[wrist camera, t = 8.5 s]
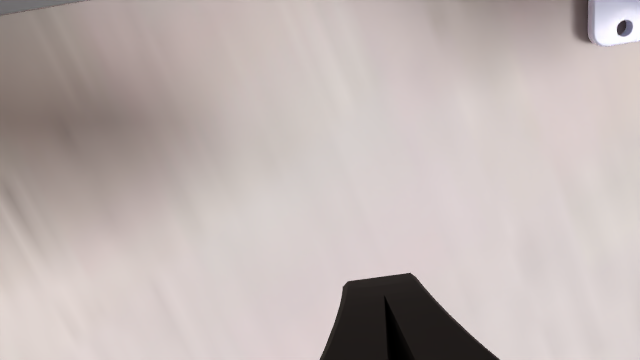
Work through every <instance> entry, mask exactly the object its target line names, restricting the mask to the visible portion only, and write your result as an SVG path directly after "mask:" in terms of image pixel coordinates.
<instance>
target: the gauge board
mask: <svg viewBox="0 0 640 360" xmlns="http://www.w3.org/2000/svg"><path fill="white" fill-rule="evenodd" d="M82 1H88V0H0V16H1V15H7V14H12V13H18V12H24V11H30V10H36V9H42V8H47V7H53V6H59V5H65V4H71V3H76V2H82Z"/></svg>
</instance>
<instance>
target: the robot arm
mask: <svg viewBox="0 0 640 360" xmlns="http://www.w3.org/2000/svg"><path fill="white" fill-rule="evenodd" d="M623 20H624V21H626V29H625V31H624V32H623V33H622V34H620V35H618V34H617V31H616V28H617V25H618V24H619V23H620V22H621V21H623ZM588 36H589V39H590V40H591V42H592V43H594V44H596V45H599V46H613V45H620V44H626V43H632V42H638V41H640V0H588ZM320 360H500V359H499V358H497V357H496V356H495V355H494V354H492V353H491V352H490V351H489V350H488V349H486V348H485V347H484V346H483V345H482V344H481V343H479V342H478V341H477V340H476V339H475V338H474V337H473V336H472V335H470V334H469V333H468V332H467V331H466V330H465V329H464V328H463V327H462V326H461V325H460V324H459V323H458V322H457V321H456V320H455V319H454V318H452V317H451V316H450V315H449V314H448V313H447V312H446V311H445V309H444V308H443V307H442V306H441V305H440V304H439V303H438V302H437V301H436V300H435V299H434V298H433V297H432V296H431V295H430V293H429V292H428V291H427V290H426V289H425V288H424V286H423V285H422V284H421V283H420V282H419V280H418V279H417V278H416V277H415V276H414V275H412V274H411V273H406V274H399V275H392V276H384V277H377V278H370V279H362V280H355V281H348V282H347V283H346V284H345V285H344V286H343V291H342V298H341V302H340V306H339V310H338V313H337V316H336V320H335V323H334V326H333V328H332V331H331V333H330V336H329V339H328V341H327V344H326V346H325V349H324V351H323V354H322V356H321V358H320Z"/></svg>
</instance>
